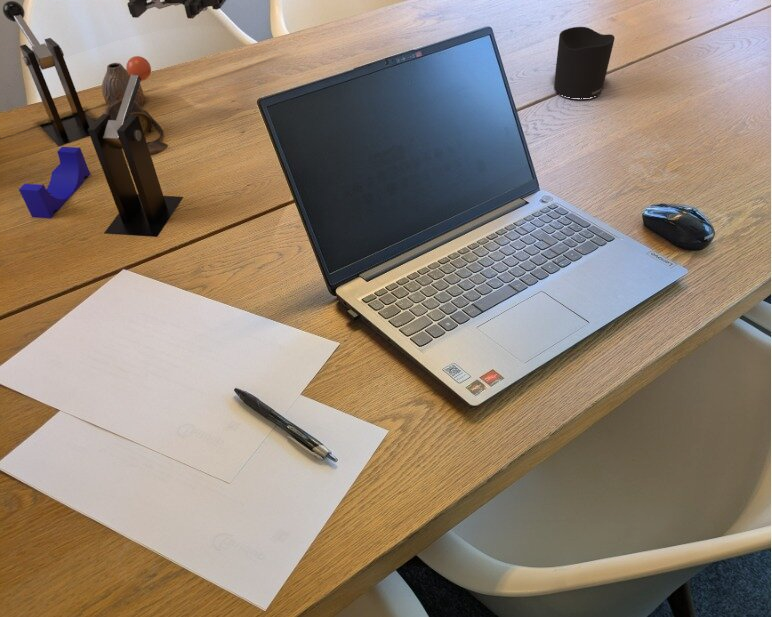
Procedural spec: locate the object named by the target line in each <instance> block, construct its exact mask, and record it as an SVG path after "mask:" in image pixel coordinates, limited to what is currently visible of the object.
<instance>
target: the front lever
mask: <svg viewBox="0 0 772 617" xmlns="http://www.w3.org/2000/svg"><path fill="white" fill-rule="evenodd" d="M125 69H126V70H127V72H128V74H129V75H130V79H129V82H128V85H127V88H126V91H125V94H124V97H123V100H122V103H121V106H120V109H119V113H118V116H117V119H116V120H108V123H107V126H106V129H105V132H104V135H103V139H104V140H105V141H106V142H107V144H108V145H109V146H110V147H111V148H114V149H122V150H123V148H122V145H121V142H120V139H119V136H118V133H117V130H118V129H119V128H120V127H121V126H122V124H123V123H124V122H125V121H126V120H127V119H128V118H129V116H130V113H131V110H132V107H133V104H134V101H135V98H136V94H137V91H138V88H139V85H141V82H143V81H146V80H147V79H149V77H150V76H151V74H152V66H151V63H150V62H149V61H148V60H147V59H146V58H145V57H143V56H140V55H135V56H132V57H131V58H129V59H128V60H127V62H126V68H125Z"/></svg>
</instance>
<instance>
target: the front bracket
mask: <svg viewBox="0 0 772 617" xmlns="http://www.w3.org/2000/svg"><path fill="white" fill-rule="evenodd" d="M108 120H112V119H111V116H110V114H105V113H102V114H101V115H100V116H99V117H98V118H97V119H96V120H94V122H95V123H94V124H93V125H92V126H91V127H90V128H89V129H88V132H89V135H90V136H89V137H90V140H91V142H92V145H93V148H94V150H95V153H96V156H97V158H98V162H99V164H100V167H101V169H102V172H103V174H104V177H105V180H106V182H107V185H108V188H109V190H110V193H111V195H112V199H113V201H114V203H115V207H116V208H117V212H118V214H117V215H116V216H115V218H114V219H113V220H112V222H111V223H110V224H109V226H108V227H107V228H106V229H105V230H104V232H103V235H104V234H105V235H118V236H119V235H120V236H133V237H148V238H149V237H150V238H158V237H159V235H160V233H161V232H162V231H163V229H164V228H165V226H166V224H168V222H169V220H170V218H171V217H172V216H173V215H174V212H176V210H177V208H178V207H179V205H180V203H181V202H182V201H183V199H184V196H175V195H164V193H163V190H162V187H161V183H160V181H159V177H158V174H157V171H156V168H155V165H154V162H153V158H152V155H150V151H149V148H148V145H147V142H148V141H147V138H146V136H145V132H143V129H142V126H141V123H140V119H139V116H138V115H131V116H130V117H129V118H128V119H127V120H126V121H125V122H124V123H123V124H122V126H121V127H120V128H119V129H118V130H117V133H118V136H119V139H120V142H121V145H122V148H123V149H114V148H111V147H110V146H109V145H108V144H107V142H106V141H105V140H104V139H103V135H104V132H105V129H106V126H107V123H108Z"/></svg>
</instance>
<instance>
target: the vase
mask: <svg viewBox="0 0 772 617" xmlns="http://www.w3.org/2000/svg"><path fill="white" fill-rule="evenodd" d="M129 79H130V75H129V74H128V72H127V68H125V67H124V66H123V65H122V64H121V62H112V63H109V64H108V65H107V66H106V71H105V75H104V77H103V79H102V83H101V92H102V93H101V94H102V97H103V99H104V102H105V104H106V105H107V108H108V107H109V106H110V104H112V103H113V102H114V101H116V100H119V99H122V98H123V97H124V94H125V91H126V88H127V85H128V82H129ZM142 87H143V86H142V85H141V84H140V85H139V88H138V91H137V94H136V98H135V101H136V102H137V103H138V104H139V105H140V106H141V107H143V106H144V101H145V95H144V90H143V88H142Z"/></svg>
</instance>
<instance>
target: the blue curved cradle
mask: <svg viewBox="0 0 772 617" xmlns="http://www.w3.org/2000/svg"><path fill="white" fill-rule="evenodd" d="M56 153H57V155H58V159H59V164H58V165H57V166H56V167H55V168H54V169H53V170H52V171H51V173H50V174H51V175H50V180H49V183H48V185H47V188H46V186H45V184H39V183H37V184H36V183H24V184H23V185H21V186H20V187H19V188H18V192H19V194H20V195H21V197H22V199H23V201H24V204H25V205H26V208H27V209H28V212H29V213H30V216H31V217H32V218H37V219H53V217H54V212H55V211H56V212H58V211H59V210H60V209H61V208H62V207H63V206H64V205H65V204H66V203H67V202H68V200H69V199H70V198H71V197H72V196H73V195H74V194H75V193H76V191H77V190H78V189H79V188H80V187H81V186H82V185H83V184H84V183H85V178H89V177H90V176H91V172H90V169H89V167H88V164H87V162H86V159H85V157H84V154H83V152H82V149H81V147H74V146H60V148H59V149H58V150H57V151H56Z"/></svg>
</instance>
